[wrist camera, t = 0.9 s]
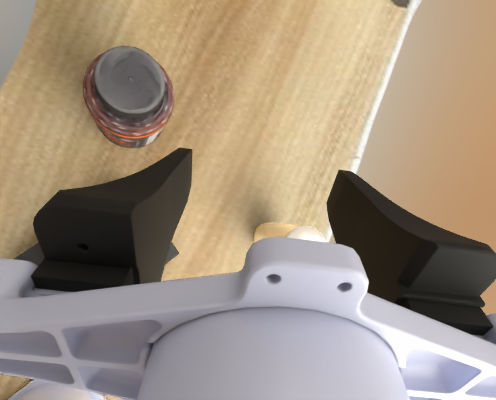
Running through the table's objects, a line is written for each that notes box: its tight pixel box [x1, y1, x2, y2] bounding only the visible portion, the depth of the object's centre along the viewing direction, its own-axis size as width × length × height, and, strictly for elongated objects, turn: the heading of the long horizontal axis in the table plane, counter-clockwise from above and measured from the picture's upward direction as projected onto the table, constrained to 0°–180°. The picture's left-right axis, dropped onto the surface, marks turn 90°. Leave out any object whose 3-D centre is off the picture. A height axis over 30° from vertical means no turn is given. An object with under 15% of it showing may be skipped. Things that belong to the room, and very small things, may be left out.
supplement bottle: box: [83, 46, 174, 148], centre depth 23 cm, size 6×6×11 cm
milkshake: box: [254, 222, 325, 242], centre depth 29 cm, size 4×5×10 cm
